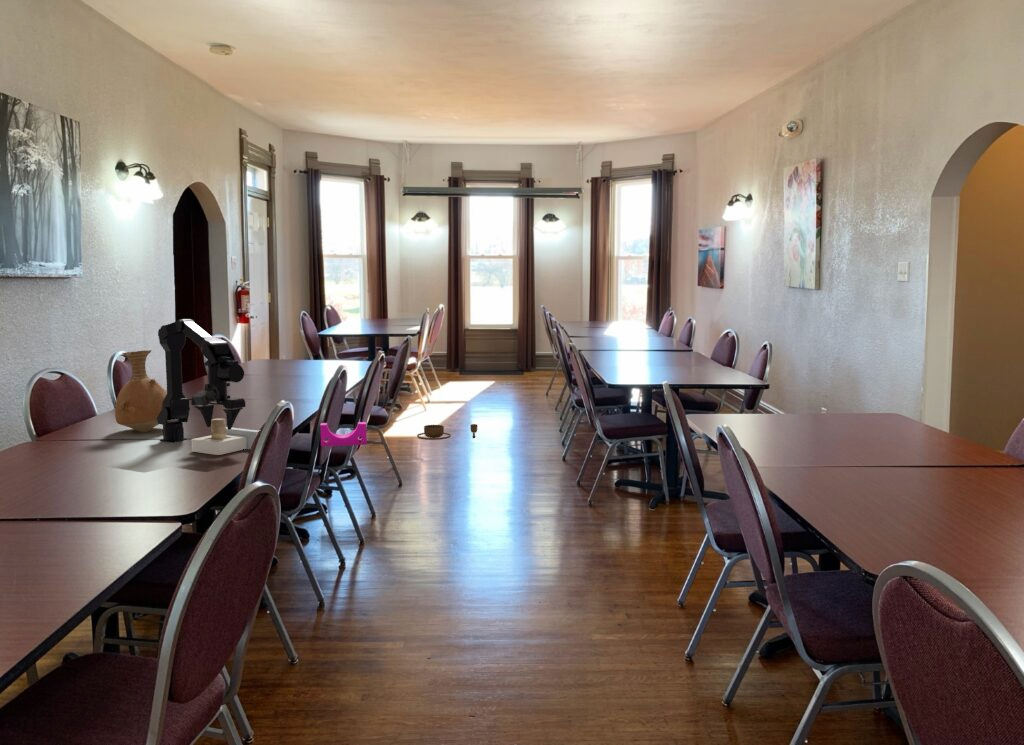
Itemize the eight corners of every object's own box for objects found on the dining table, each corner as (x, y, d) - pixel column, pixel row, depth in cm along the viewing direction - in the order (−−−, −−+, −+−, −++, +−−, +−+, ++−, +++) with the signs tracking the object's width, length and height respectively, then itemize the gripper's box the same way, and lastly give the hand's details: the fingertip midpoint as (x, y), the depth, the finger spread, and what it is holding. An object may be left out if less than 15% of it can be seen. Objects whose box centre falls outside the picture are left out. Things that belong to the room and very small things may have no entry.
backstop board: (212, 444, 293) (211, 426, 292) (218, 443, 295) (217, 425, 294) (256, 450, 283) (256, 432, 283) (262, 448, 286) (261, 430, 285)
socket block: (191, 451, 280) (191, 439, 280) (220, 445, 291) (219, 433, 290) (218, 455, 274) (218, 442, 274) (246, 448, 285) (246, 436, 285)
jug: (123, 440, 300) (120, 353, 297) (106, 432, 314) (103, 349, 311) (181, 433, 313) (178, 350, 310) (162, 426, 327) (159, 347, 324)
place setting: (439, 434, 318) (439, 418, 317) (480, 441, 305) (480, 424, 305) (404, 441, 304) (404, 424, 304) (446, 448, 292) (446, 431, 291)
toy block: (365, 442, 299) (365, 420, 299) (366, 445, 293) (366, 423, 292) (321, 443, 296) (320, 422, 296) (321, 447, 290) (320, 425, 289)
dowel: (208, 447, 281) (208, 420, 280) (219, 445, 285) (218, 418, 284) (218, 448, 279) (218, 421, 278) (229, 446, 283) (228, 419, 282)
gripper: (176, 381, 277) (178, 429, 279) (219, 384, 269) (220, 434, 270) (204, 377, 287) (205, 424, 289) (246, 381, 278) (247, 429, 280)
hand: (219, 428), depth 282 cm, fingers open, 9 cm apart
